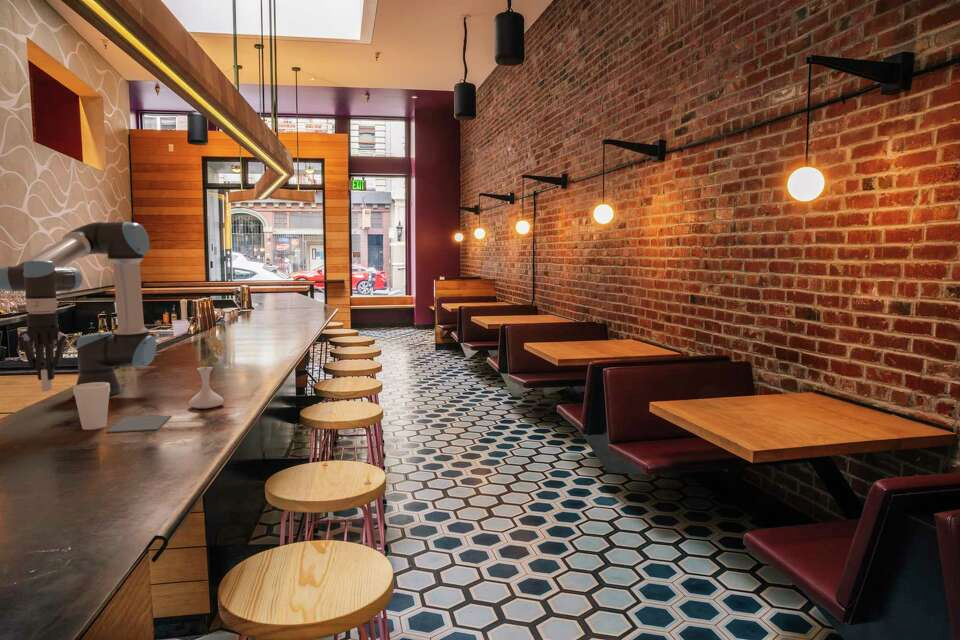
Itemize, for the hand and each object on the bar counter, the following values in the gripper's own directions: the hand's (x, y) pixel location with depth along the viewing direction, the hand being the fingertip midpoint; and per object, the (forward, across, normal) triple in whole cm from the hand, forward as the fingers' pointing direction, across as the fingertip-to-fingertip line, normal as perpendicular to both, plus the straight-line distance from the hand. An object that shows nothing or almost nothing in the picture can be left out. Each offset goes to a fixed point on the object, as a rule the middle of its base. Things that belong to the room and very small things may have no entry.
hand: (47, 390), depth 184 cm
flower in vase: (+12, +41, +20) cm, 47 cm away
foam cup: (+12, +12, 0) cm, 17 cm away
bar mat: (+12, +25, 0) cm, 28 cm away
